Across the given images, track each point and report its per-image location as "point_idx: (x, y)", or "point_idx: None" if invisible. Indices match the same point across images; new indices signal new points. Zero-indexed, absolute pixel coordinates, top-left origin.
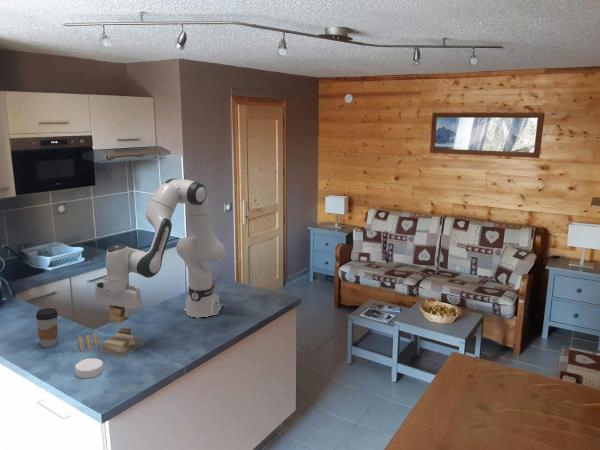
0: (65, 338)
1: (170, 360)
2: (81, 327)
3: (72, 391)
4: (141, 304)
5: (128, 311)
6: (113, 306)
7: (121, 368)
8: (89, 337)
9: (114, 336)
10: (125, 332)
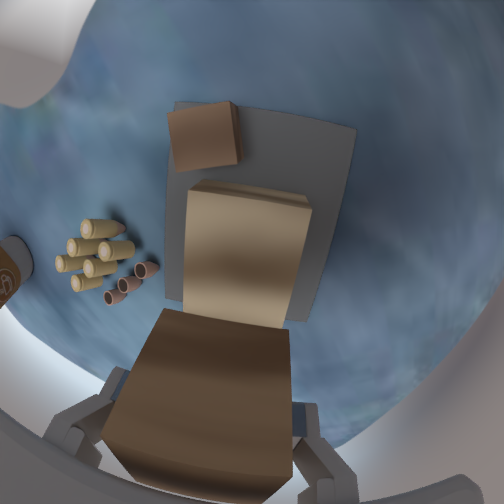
0: (21, 207)
1: (462, 288)
2: (13, 111)
3: None
4: (478, 490)
5: (328, 449)
6: (137, 472)
7: (320, 364)
8: (93, 272)
9: (193, 243)
10: (224, 164)
